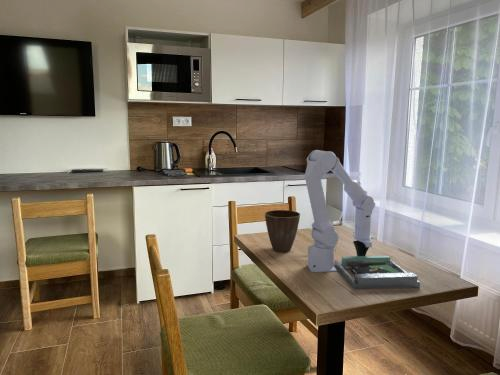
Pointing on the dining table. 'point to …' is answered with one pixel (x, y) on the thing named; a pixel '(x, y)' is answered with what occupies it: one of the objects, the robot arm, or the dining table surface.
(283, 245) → the plant pot
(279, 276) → the dining table surface
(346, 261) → the long teal rectangular bar
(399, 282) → the shallow rimmed tray
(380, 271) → the disk drive
